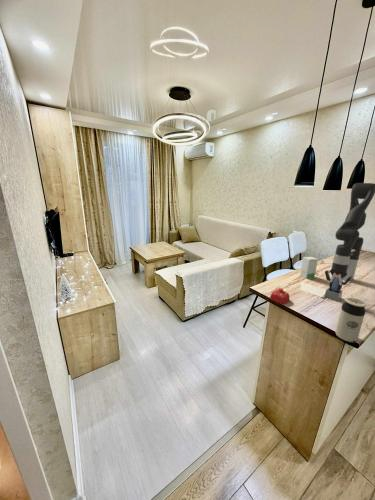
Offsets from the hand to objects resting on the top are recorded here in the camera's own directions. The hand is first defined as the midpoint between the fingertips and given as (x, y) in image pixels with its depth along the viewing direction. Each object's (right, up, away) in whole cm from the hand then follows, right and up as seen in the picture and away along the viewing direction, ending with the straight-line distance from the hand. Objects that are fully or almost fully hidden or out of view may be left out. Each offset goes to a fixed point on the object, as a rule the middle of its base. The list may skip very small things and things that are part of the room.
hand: (334, 288), depth 128 cm
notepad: (-8, -3, +10) cm, 13 cm away
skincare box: (+1, +3, +32) cm, 33 cm away
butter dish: (-36, -7, -3) cm, 37 cm away
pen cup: (0, -6, +2) cm, 6 cm away
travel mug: (-18, -16, -33) cm, 41 cm away
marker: (0, -3, +1) cm, 3 cm away
